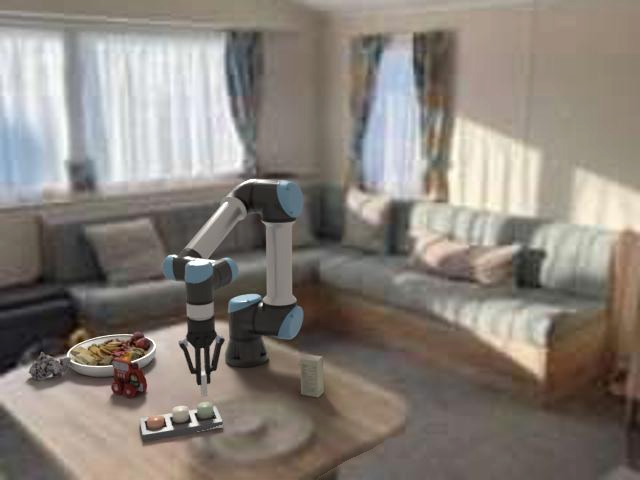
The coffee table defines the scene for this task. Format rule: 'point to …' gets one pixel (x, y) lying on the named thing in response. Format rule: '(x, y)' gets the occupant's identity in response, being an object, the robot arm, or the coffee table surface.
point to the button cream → (180, 414)
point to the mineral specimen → (48, 367)
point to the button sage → (205, 410)
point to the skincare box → (311, 375)
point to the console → (179, 426)
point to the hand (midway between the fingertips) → (204, 394)
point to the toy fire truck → (128, 378)
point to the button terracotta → (155, 422)
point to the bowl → (110, 353)
